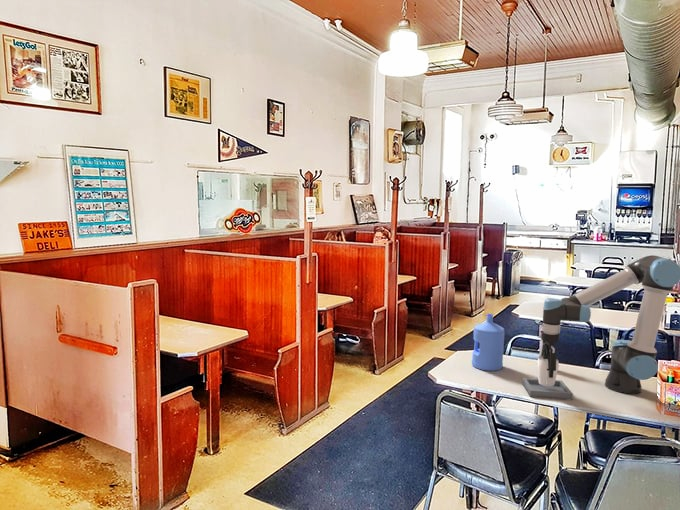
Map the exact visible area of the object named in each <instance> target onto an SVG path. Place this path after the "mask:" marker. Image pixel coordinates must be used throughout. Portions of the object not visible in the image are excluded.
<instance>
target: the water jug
mask: <svg viewBox="0 0 680 510" xmlns="http://www.w3.org/2000/svg"><path fill="white" fill-rule="evenodd" d="M493 319H494V314H492V313H486V321H484V322H481V323H478V324H475V326H474V327H473V340H474V346H473V351H472V357H471V358H472V359H471V365H472V366H473V367H474V368H476V369H479V370H483V371H487V372H489V371H490V372H493V371H496V372H497V371H500V370H502V368H503V365H504V363H503V359H504V350H505V349H504V343H505V328H504V327H503V326H501V325H499V324H497V323H495V322H493V321H494V320H493ZM478 347H479V348H478Z"/></svg>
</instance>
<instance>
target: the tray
mask: <svg viewBox="0 0 680 510" xmlns="http://www.w3.org/2000/svg"><path fill="white" fill-rule="evenodd" d="M521 380H522V382H521V385H522V387H524V390H525V391H526V393H527V394H528V396H529V397H530V398H538V399H539V398H540V399H552V398H553V399H555V400H565V399H572V400H573V392H572V391H571V390H570V388H569V387H568V386H567V385H566V384H565V383H564V381H563V380H561V379H560V380H559V379H556V380H555V384H554V386H552V387H547V386H543V385H540V384H539V380H538V378H530V377H529V378H528V377H522V379H521Z"/></svg>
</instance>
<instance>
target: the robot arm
mask: <svg viewBox="0 0 680 510" xmlns="http://www.w3.org/2000/svg"><path fill="white" fill-rule="evenodd" d="M679 282H680V265H679V264H678V263H677V262H676V261H674V260H672V259H670V258H667V257H663V256H659V255H647V256H643V257H641V258H639V259H637V260H635V261H632V262H631V263H629V264H627V265H625V267H624V268H623V270H620V271H619V272H617V273H614V274H612V275H610V276H609V277H607V278H605V279H603V280H601V281H599V282H597V283H595V284H593V285H591V286H589V287H587V288H585V289H583V290H581V291H579V292H578V293H576V294H574V295H571V296H569V297H561V298H560V299H559V298H554V297H549V298H546V299H544V302H543V309H542V310H543V311H542V312H543V313H542V324H541V325H540V327H541V331H543V332H542V335H540V340H541V339H542V340H543V346H542V353H541V356H543V359H548V369H547V381H546V384H553V379H554V371H556V358H557V352H558V351H557V350H558V349H557V348H556V346H555V344H557V343H559V341H560V332H561V322H562V321H563V322H576V323H577V322H579V323H588V322H589V321H590V319H591V316H592V314H591V313H592V312H591V307H590V306H592V305H593V304H596V303H597V302H599V301H602V300H604V299H606V298H608V297H609V296H612V295H614V294H616V293H617V292H620V291H622V290H624V289H626V288H627V287H630V286H632V285H639V284H641V286H642V288H643V289H644V292H643V295H642V299H641V303H640V307H639V311H638V316H637V320H636V324H635V328H634V331H633V334H632V340H628V339H627V340H626V339H616V340H614V341H613V342H612V346H611V358H610V359H611V360H610V370H609V372H608V374H607V376H606V378H605V381H604V386H605V388H607V387H608V388H607V389H609V390H611V389H612V390H611V391H614V390H615V391H614V392H617V391H619V392H618V393H621V392H624V393H623V394H627V393H638V394H640V393H642V388H643V387H642V382H641V380H642V381H646V380H649V379H651V378H653V377H654V376H655V375H656V374H657V372H658V370H659V369H658V368H659V365H658V363H657V360H656V357H657V354H658V351H657V349H656V348H655V344H656V341H657V337H658V332H659V328H660V324H661V322H662V321H661V320H662V317H663V313H664V308H665V305H666V300H667V297H668V294H670V293H672V292H673V291H674V286H676V285H677V284H679ZM639 392H640V393H639Z"/></svg>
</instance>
